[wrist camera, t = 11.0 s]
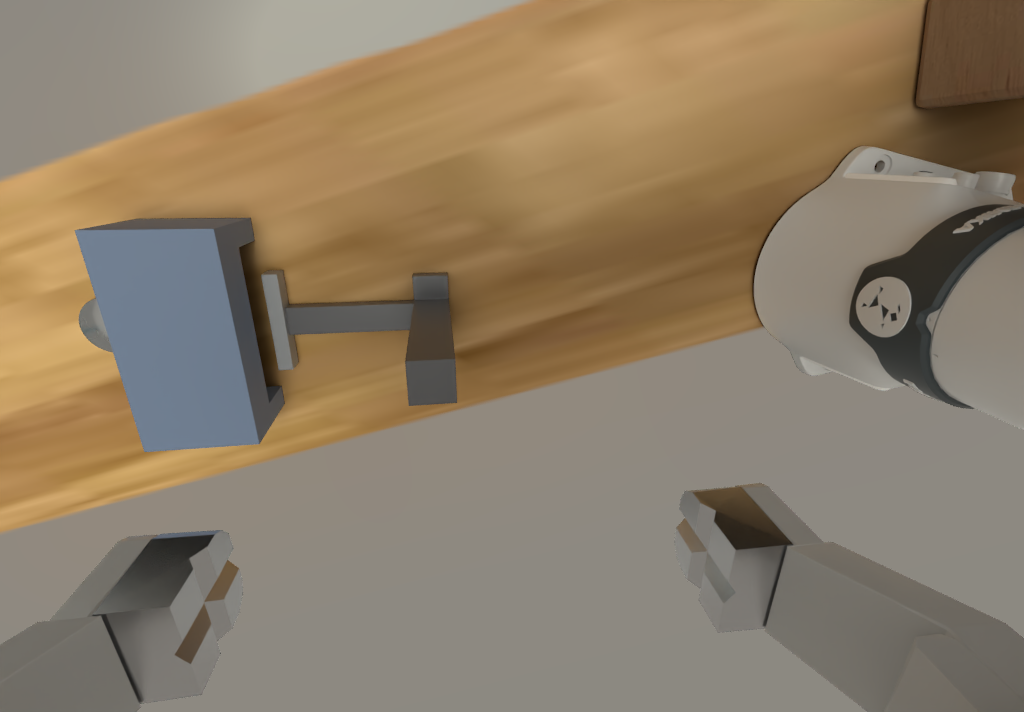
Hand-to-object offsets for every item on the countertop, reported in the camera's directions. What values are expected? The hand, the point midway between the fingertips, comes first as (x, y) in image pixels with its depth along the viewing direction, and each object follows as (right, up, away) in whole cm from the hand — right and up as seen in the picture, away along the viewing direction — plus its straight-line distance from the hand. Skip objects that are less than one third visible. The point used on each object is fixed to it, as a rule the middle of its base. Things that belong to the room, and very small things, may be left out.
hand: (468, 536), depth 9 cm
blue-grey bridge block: (-20, +6, +26) cm, 34 cm away
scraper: (-10, +6, +28) cm, 30 cm away
